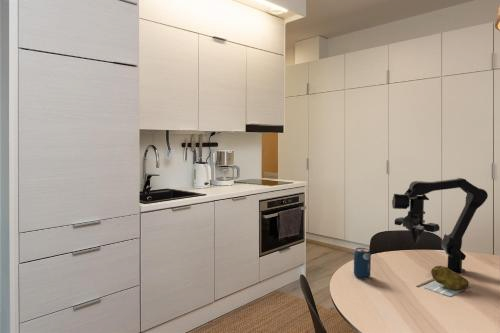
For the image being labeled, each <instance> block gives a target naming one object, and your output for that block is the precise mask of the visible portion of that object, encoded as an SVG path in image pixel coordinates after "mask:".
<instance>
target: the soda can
mask: <svg viewBox="0 0 500 333" xmlns="http://www.w3.org/2000/svg"><path fill="white" fill-rule="evenodd" d="M371 256H372V254H371V251H370V249H369V248H365V247H356V248H355V251H354V252H353V275H354V277H355V278H357V279H359V280H368V279H369V278H370V276H371V266H372V265H371V260H372V259H371Z"/></svg>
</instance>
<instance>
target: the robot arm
mask: <svg viewBox="0 0 500 333" xmlns="http://www.w3.org/2000/svg"><path fill="white" fill-rule="evenodd" d="M451 189H460V190H462V191H463V192H464V193H466V195H465V196H466V197H465V204H464V206H463V209H462V211H461V213H460V215H459V216H458V219H457V221H456V223H455V225H454V227H453V229H452V231H451V232H450V233H449V234H448V235H447V234H446V233H445V234H444V235H443V238H442V240H441V241H440V242H441V248H442V249H443V251H444V252H445V254H446V255H447V266H446V267H447V268H449V269H450V270H452V271H453V272H455V273H457V274H461V273H463V272H465V271H466V269H465V268H463V261H465V259H466V257H467V255H466V254H465V253H464V252H462V246H463V237H464V235H465V233H466V231H467V229H468V227H469V226H470V223H471V221H472V219H473V217H474V215H475V213H476V212H477V210H478V209H479V208H480V207H481V206H483V205H484V203H485V202H486V201H487V199H488V197H489V194H488V192H487V191H486V189H483V188H481V187H477V186H476V185H474V184H472V182H471V183H470V182H469V181H468V180H467V179H465V178H462V177H458V178H453V179H445V180H437V181H423V180H417V181H416V180H415V181H412V182H411V183H410V184H409V187H408V189H406V191H405V192H404V193H403V194H402V193H401V194H400V193H394V194H393V197H392V201H391V205H392V206H391V207H392V209H394V210H395V209H396V210H397V209H398V210H406V209H409V210H408V211H407V215H406V216H405V217H402V216H401V217H397V218H394V225H396V226H401V225H402V227H404V228H406V229H407V230H408V231H409V233H410V235H411V238H412V240H413V242H414V244H417V243H419V240H420V238H421V236H422V235H423V233H424V231H426V232H429V233H435V232H439V231H440V225H439V224H438V223H433V222H429V223H425V221H426V220H424V215H425V214H426V211H424V210H425V208H424V207H425V201H429V200H430V198H429V197H428V196H427V194H429V193H431V192H435V191H442V190H451Z"/></svg>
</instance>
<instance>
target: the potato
mask: <svg viewBox="0 0 500 333" xmlns="http://www.w3.org/2000/svg"><path fill="white" fill-rule="evenodd" d="M447 267H448V266H443V265H436V266H434V267H432V269H431V271H430V273H431V276H432V279H433V278H434V280H433V281H435V282H438V283H440V284H442V285H443V286H445V287H446V288H449V289H452V290H462V291H464V290H466V289H469V287H468V286H470V285H469V284H470V283H469V279H467V278H466V277H464V276H462V275H460V273H455V272H453V271H452V270H450V269H449V268H447Z"/></svg>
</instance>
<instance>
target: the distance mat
mask: <svg viewBox="0 0 500 333" xmlns="http://www.w3.org/2000/svg"><path fill="white" fill-rule="evenodd" d="M469 287H470V285H469V286H468V288H469ZM423 289H425V290H429V291H431V292H435V293H438V294H441V295H443V296H446V297H451V298H452V296H455V295H456V294H458V293H461V292H463V290H452V289H449V288H446V287H445V286H443V285H442V284H440V283H438V282H436V281H435V282H434V283H431V284H429V285H427V286H425V287H424V288H423Z"/></svg>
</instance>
